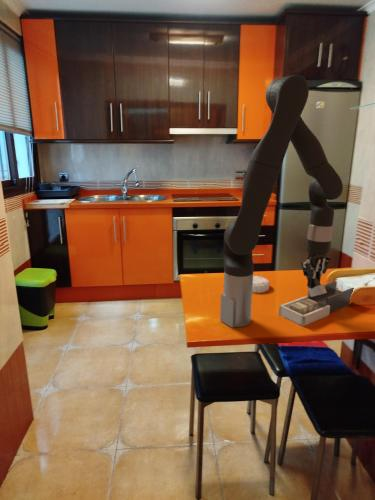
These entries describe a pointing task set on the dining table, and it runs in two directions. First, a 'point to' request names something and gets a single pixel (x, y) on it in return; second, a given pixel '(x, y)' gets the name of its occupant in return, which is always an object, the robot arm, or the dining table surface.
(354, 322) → the dining table surface
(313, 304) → the chip
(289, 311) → the tray
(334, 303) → the slot block
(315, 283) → the scraper tool
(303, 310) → the chip
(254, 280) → the mooncake
